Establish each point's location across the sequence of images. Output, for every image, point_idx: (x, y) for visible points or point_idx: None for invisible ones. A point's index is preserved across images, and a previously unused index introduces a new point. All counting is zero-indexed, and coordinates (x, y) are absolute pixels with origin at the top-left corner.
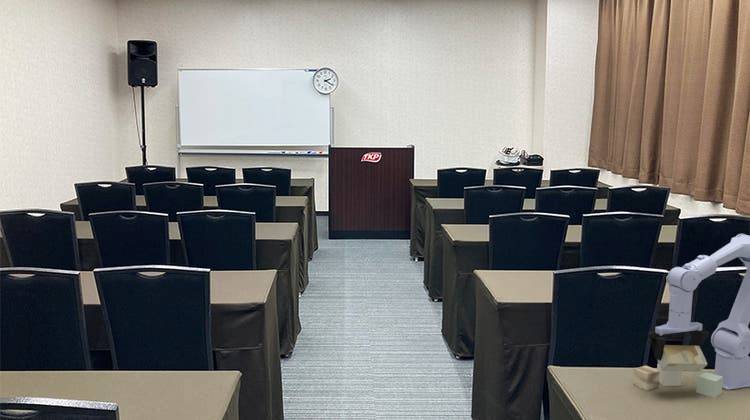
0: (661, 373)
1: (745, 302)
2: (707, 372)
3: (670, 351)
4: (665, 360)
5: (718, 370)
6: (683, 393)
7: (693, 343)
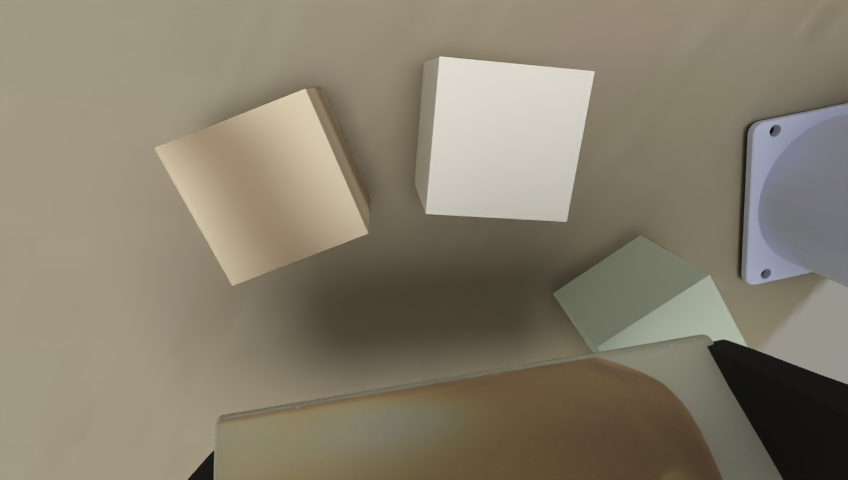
0: (424, 147)
1: None
2: (715, 289)
3: None
4: None
5: (835, 229)
6: (472, 297)
7: (811, 438)
